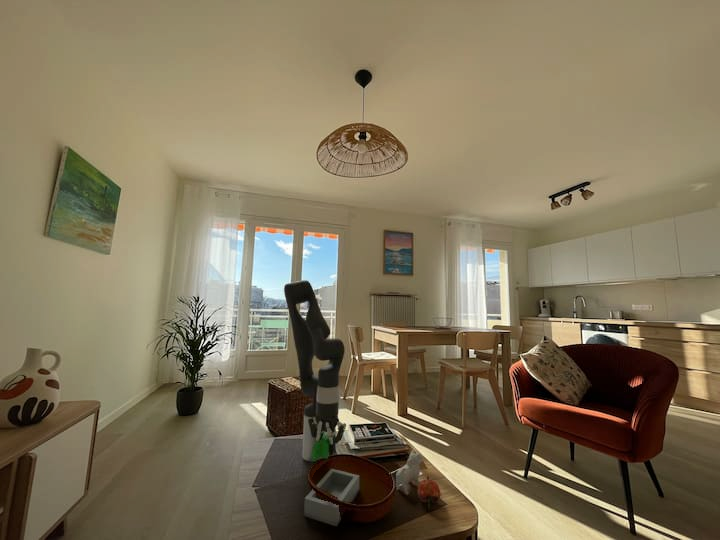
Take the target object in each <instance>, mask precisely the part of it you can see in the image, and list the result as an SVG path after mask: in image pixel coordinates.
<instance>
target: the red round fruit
mask: <svg viewBox="0 0 720 540" xmlns="http://www.w3.org/2000/svg"><path fill="white" fill-rule="evenodd" d="M417 495H418V497H419V499H420V501H421V502H422V503H428V508H430V506H431V505H430V503H431V504H437V503H438V501H439V500H440V499H441V489H440V487H439V485H438V483H437V482H436V481H434V480H433V479H430V477H429V475H427V476H426V479H423V480H422V481H420V482H419V485H418V487H417Z"/></svg>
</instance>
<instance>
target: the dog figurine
mask: <svg viewBox="0 0 720 540" xmlns="http://www.w3.org/2000/svg"><path fill="white" fill-rule="evenodd" d="M422 462H423V456H422V454H421V453H419V452H417V453H415V450H413V449H412V450H411V451H410V454H409V455H408V458H407V462H406V464H404V466H402V467H403V468H402V467H401V468H402V469H400V468H398V469H399V470H398V469H397V470H398V472H397V474H396V487H397V488H396V490H397V491H399V490H400V487H399V485H400V483H401V484H402V487H403V488H404V494H405V495H406V496H408V495H410V491H409V483H411V481H413V480H414V483H415V487H417V488H418V485H419V483H420V482H419V477H420V476H419V474H420V472H421V469H420V468H421V467H420V464H421V463H422Z"/></svg>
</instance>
